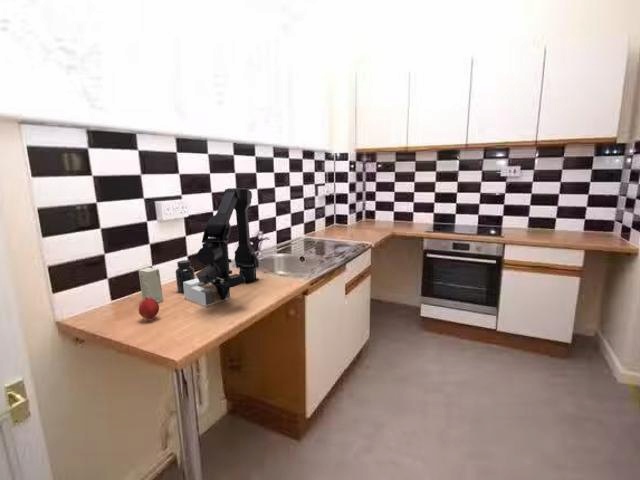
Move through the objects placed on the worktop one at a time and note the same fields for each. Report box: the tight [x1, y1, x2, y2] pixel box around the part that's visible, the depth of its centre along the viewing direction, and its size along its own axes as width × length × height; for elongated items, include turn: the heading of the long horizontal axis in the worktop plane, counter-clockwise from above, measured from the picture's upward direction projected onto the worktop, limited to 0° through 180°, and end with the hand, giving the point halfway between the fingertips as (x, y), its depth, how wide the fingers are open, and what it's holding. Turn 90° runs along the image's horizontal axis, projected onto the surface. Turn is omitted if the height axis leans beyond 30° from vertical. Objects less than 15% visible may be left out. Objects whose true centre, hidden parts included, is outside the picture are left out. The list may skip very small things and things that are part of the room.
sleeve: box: [183, 277, 231, 307], centre depth 125 cm, size 10×14×6 cm
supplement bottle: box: [175, 259, 196, 294], centre depth 133 cm, size 7×7×12 cm
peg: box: [199, 284, 222, 304], centre depth 123 cm, size 4×10×4 cm, turn 52°
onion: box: [138, 296, 160, 321], centre depth 107 cm, size 6×6×8 cm
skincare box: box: [138, 267, 164, 304], centre depth 122 cm, size 6×4×12 cm
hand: (223, 299), depth 119 cm, fingers closed
